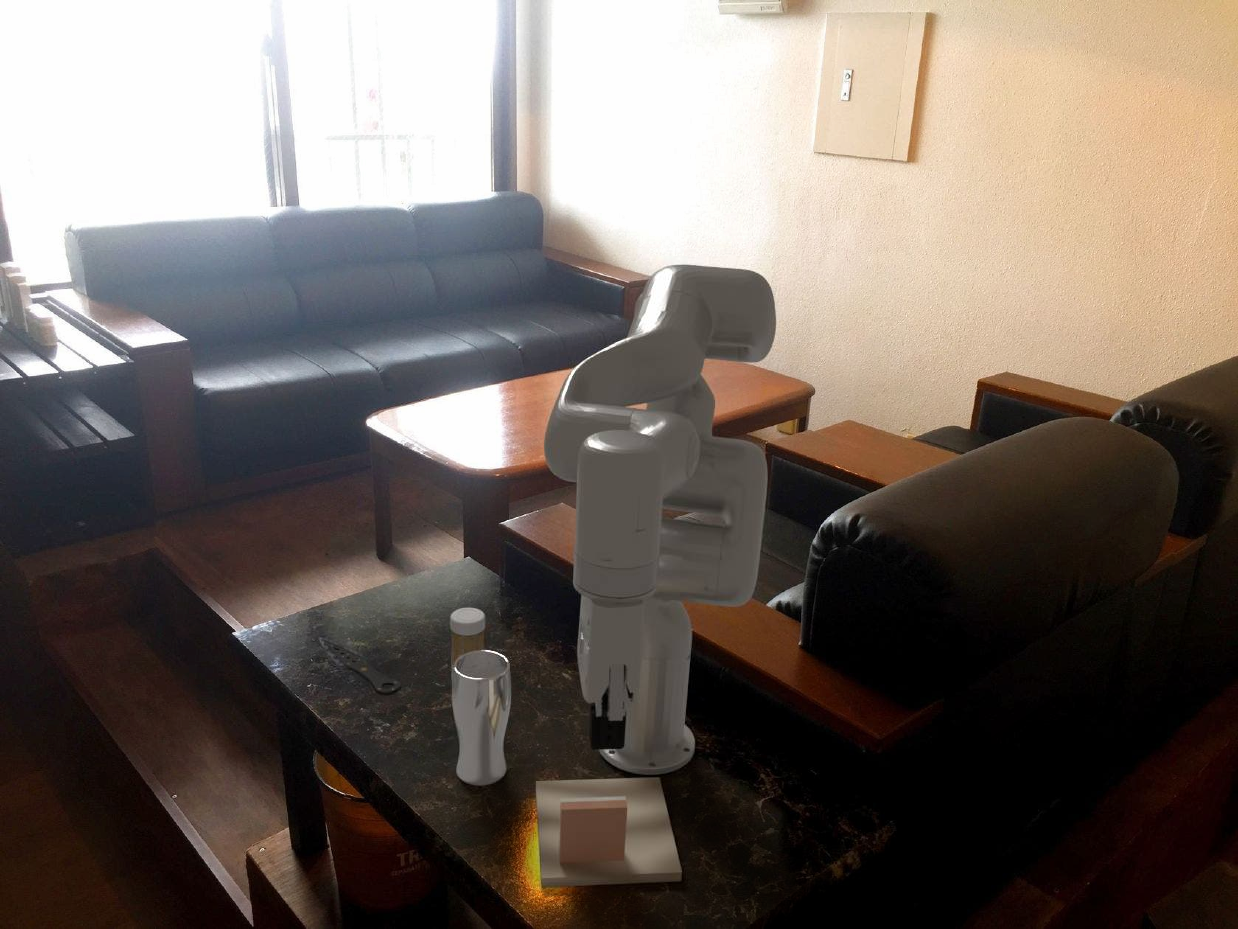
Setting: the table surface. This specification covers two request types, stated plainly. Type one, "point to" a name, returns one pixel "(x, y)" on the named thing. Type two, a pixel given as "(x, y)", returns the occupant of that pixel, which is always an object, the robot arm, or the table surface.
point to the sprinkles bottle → (466, 633)
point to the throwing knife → (358, 666)
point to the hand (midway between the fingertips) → (606, 743)
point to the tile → (592, 829)
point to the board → (644, 842)
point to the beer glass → (481, 714)
